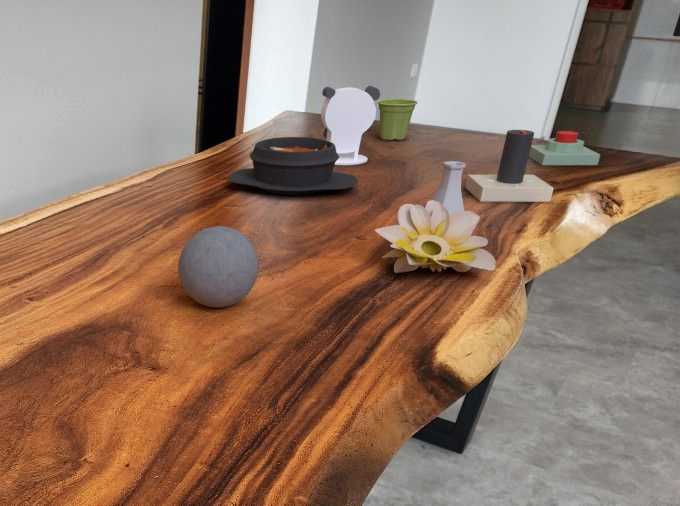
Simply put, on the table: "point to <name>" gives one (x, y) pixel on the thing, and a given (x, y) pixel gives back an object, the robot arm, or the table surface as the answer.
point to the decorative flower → (436, 239)
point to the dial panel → (509, 189)
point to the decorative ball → (218, 266)
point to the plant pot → (395, 117)
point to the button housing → (563, 153)
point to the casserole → (294, 167)
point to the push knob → (566, 137)
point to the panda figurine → (348, 120)
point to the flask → (451, 187)
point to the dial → (515, 156)
